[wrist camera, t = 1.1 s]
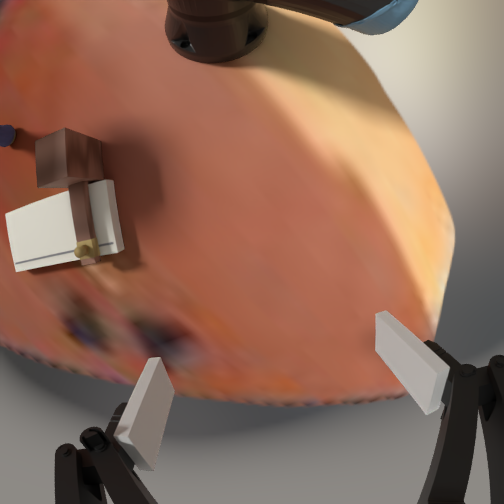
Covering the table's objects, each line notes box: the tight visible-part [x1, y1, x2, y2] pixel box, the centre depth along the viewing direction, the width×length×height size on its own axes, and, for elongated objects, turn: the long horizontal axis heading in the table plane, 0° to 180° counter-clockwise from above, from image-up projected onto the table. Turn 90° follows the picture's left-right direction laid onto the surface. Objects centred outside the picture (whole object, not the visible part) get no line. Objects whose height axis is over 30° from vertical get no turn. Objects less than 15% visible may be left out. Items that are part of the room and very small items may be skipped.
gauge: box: [35, 128, 104, 265], centre depth 31 cm, size 17×5×10 cm, turn 8°
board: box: [5, 180, 125, 272], centre depth 35 cm, size 10×22×3 cm, turn 98°
